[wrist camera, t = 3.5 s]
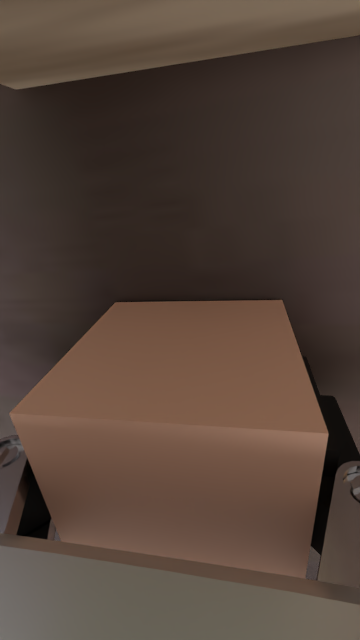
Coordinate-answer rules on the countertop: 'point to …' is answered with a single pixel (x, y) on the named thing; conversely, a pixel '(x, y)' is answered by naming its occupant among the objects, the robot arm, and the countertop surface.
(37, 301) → the countertop surface
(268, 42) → the tower base
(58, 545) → the robot arm
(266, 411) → the cube
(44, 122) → the countertop surface
